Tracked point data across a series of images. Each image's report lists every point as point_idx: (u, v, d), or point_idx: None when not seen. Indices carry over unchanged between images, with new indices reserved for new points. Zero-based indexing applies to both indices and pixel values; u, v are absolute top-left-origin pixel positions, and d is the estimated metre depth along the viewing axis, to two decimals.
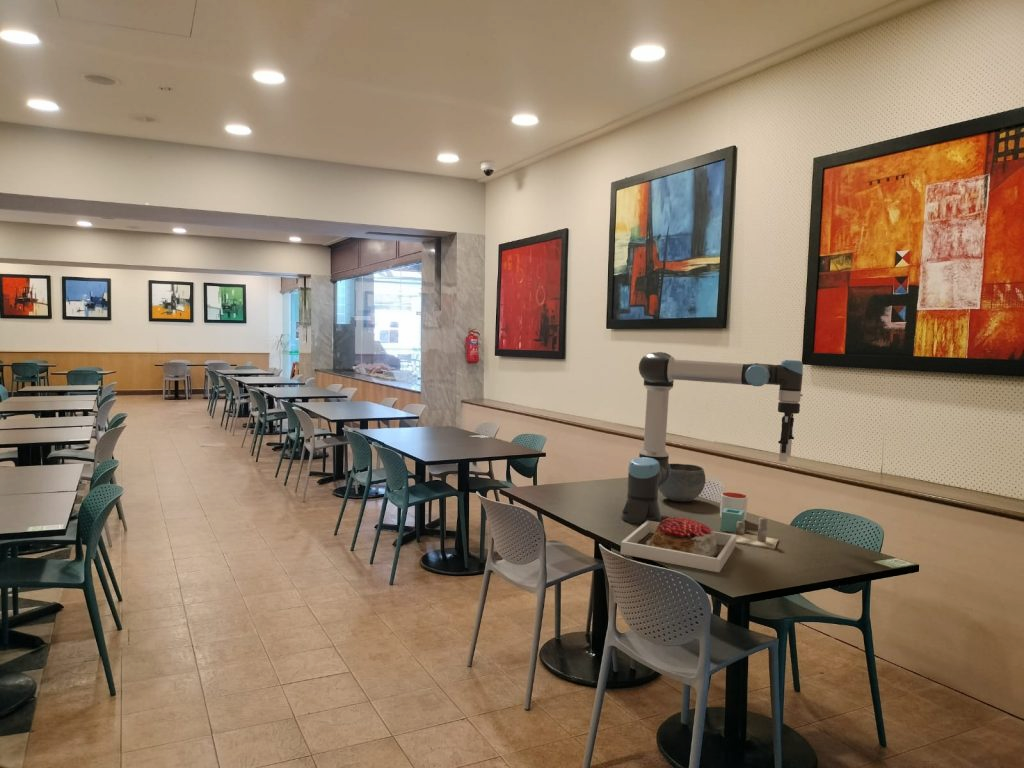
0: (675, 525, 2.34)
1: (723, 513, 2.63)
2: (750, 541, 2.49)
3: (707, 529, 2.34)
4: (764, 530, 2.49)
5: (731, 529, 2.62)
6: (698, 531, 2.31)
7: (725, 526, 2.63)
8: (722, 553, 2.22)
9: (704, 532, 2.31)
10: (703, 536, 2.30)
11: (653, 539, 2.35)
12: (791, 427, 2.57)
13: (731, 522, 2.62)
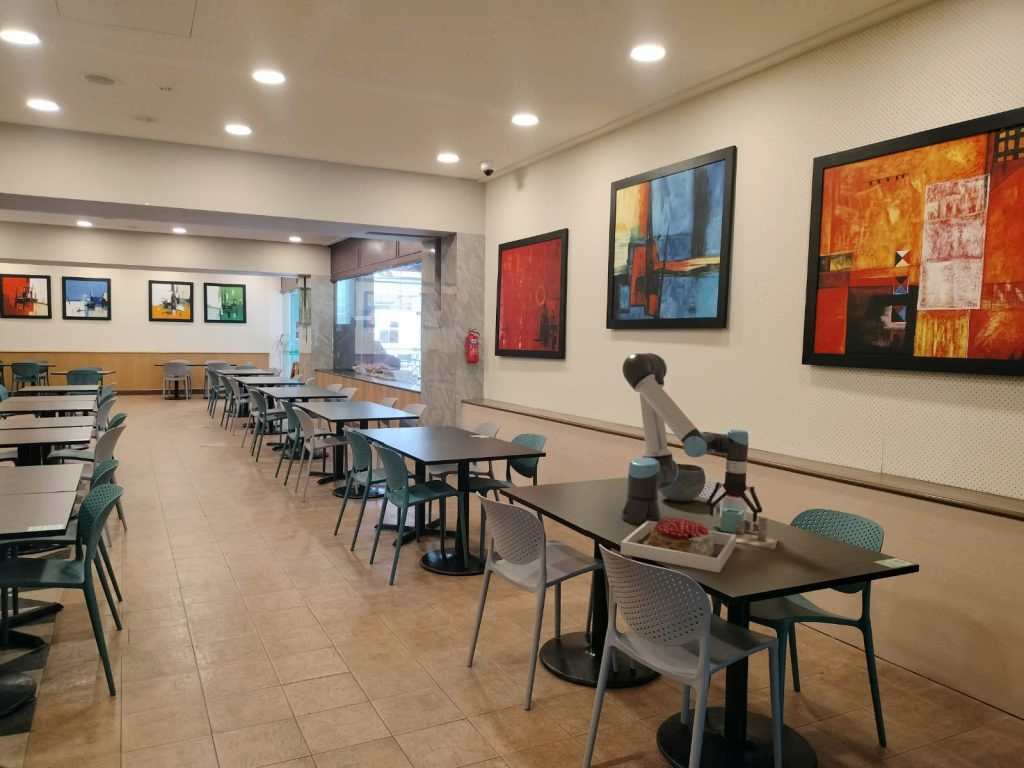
0: (672, 525, 2.33)
1: (723, 513, 2.63)
2: (750, 541, 2.49)
3: (704, 530, 2.33)
4: (764, 530, 2.49)
5: (731, 529, 2.62)
6: (695, 532, 2.30)
7: (725, 526, 2.63)
8: (722, 553, 2.22)
9: (701, 533, 2.31)
10: (701, 536, 2.29)
11: (650, 540, 2.34)
12: (724, 494, 2.64)
13: (731, 522, 2.62)
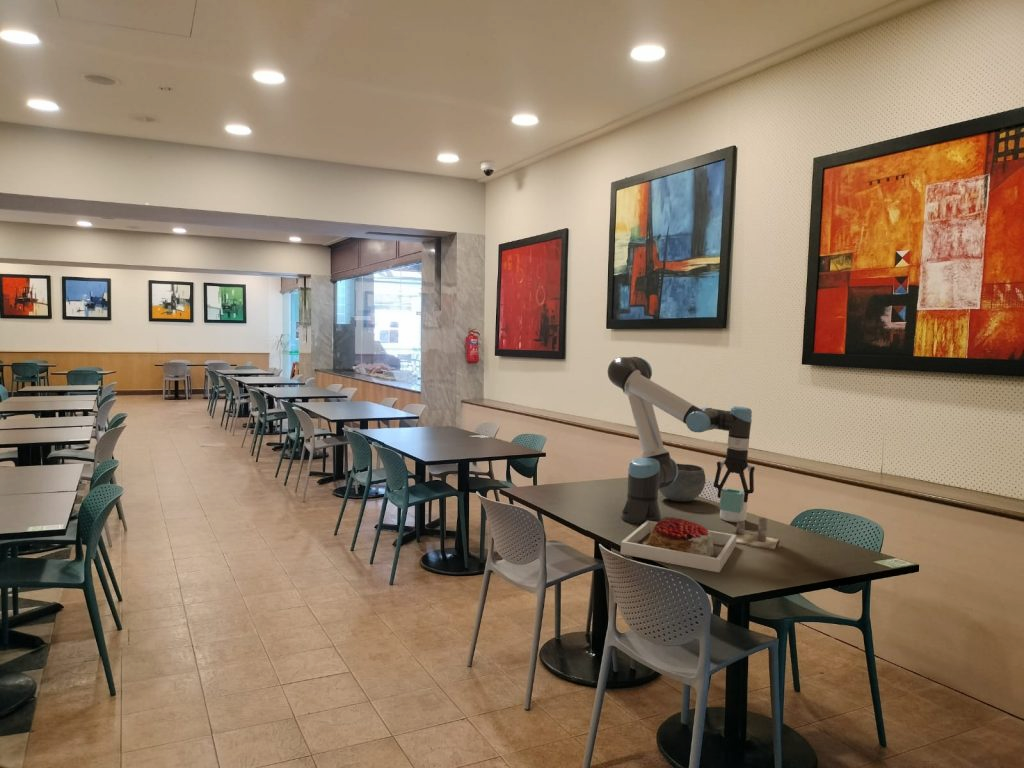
0: (672, 526, 2.32)
1: (723, 492, 2.63)
2: (750, 541, 2.49)
3: (704, 530, 2.32)
4: (764, 530, 2.49)
5: (731, 509, 2.62)
6: (694, 532, 2.29)
7: (725, 505, 2.63)
8: (722, 553, 2.22)
9: (701, 533, 2.30)
10: (700, 537, 2.28)
11: (650, 540, 2.34)
12: (727, 473, 2.63)
13: (731, 502, 2.62)
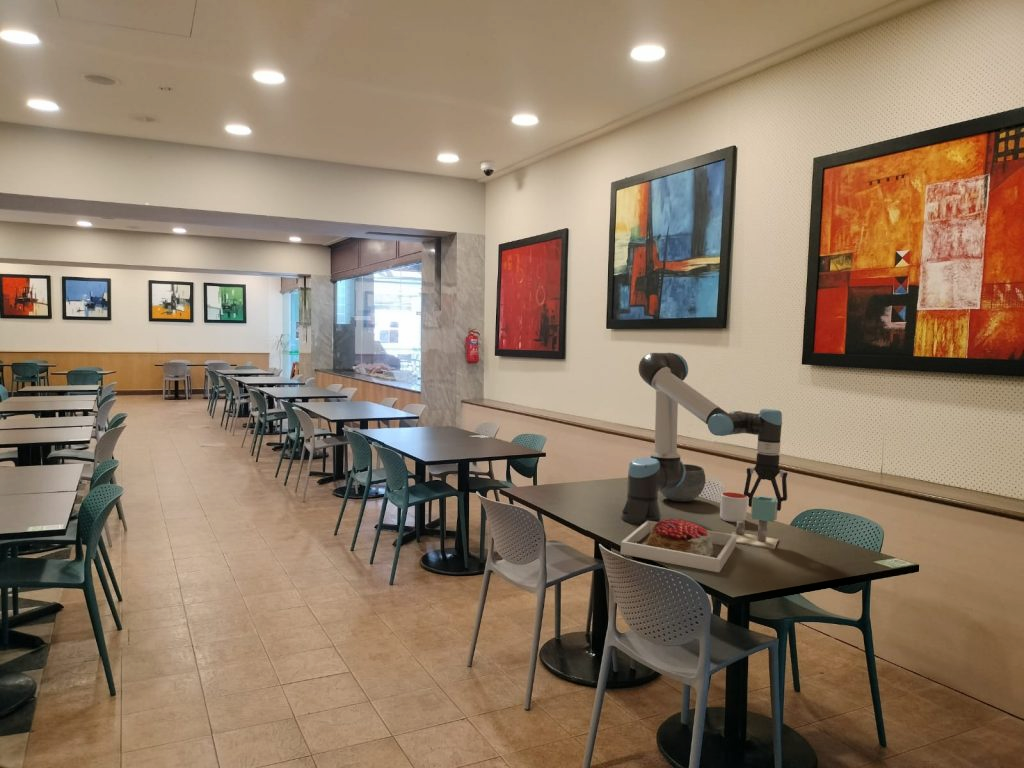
0: (671, 527, 2.32)
1: (755, 501, 2.47)
2: (750, 541, 2.49)
3: (703, 531, 2.32)
4: (764, 530, 2.49)
5: (764, 518, 2.46)
6: (694, 533, 2.28)
7: (757, 514, 2.47)
8: (722, 553, 2.22)
9: (700, 534, 2.29)
10: (700, 537, 2.28)
11: (649, 541, 2.33)
12: (758, 480, 2.48)
13: (763, 510, 2.46)
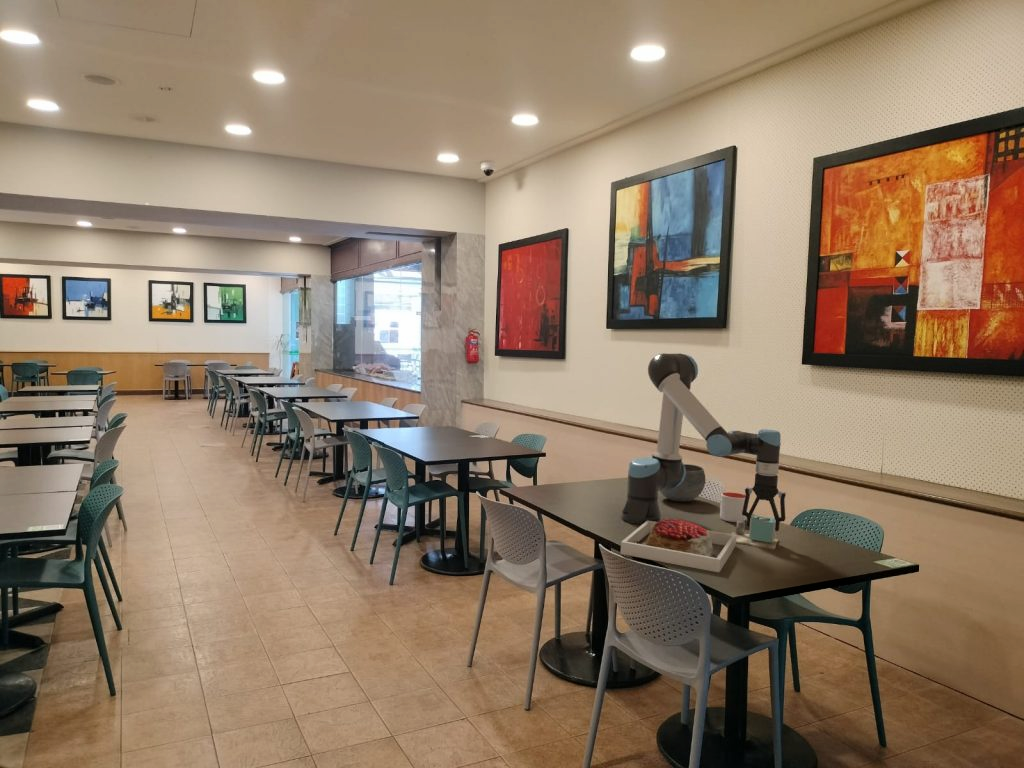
0: (671, 527, 2.31)
1: (753, 521, 2.48)
2: (750, 541, 2.49)
3: (703, 531, 2.31)
4: None
5: (762, 538, 2.47)
6: (694, 533, 2.28)
7: (755, 535, 2.48)
8: (722, 553, 2.22)
9: (700, 534, 2.29)
10: (700, 537, 2.28)
11: (649, 541, 2.33)
12: (756, 500, 2.49)
13: (762, 530, 2.47)
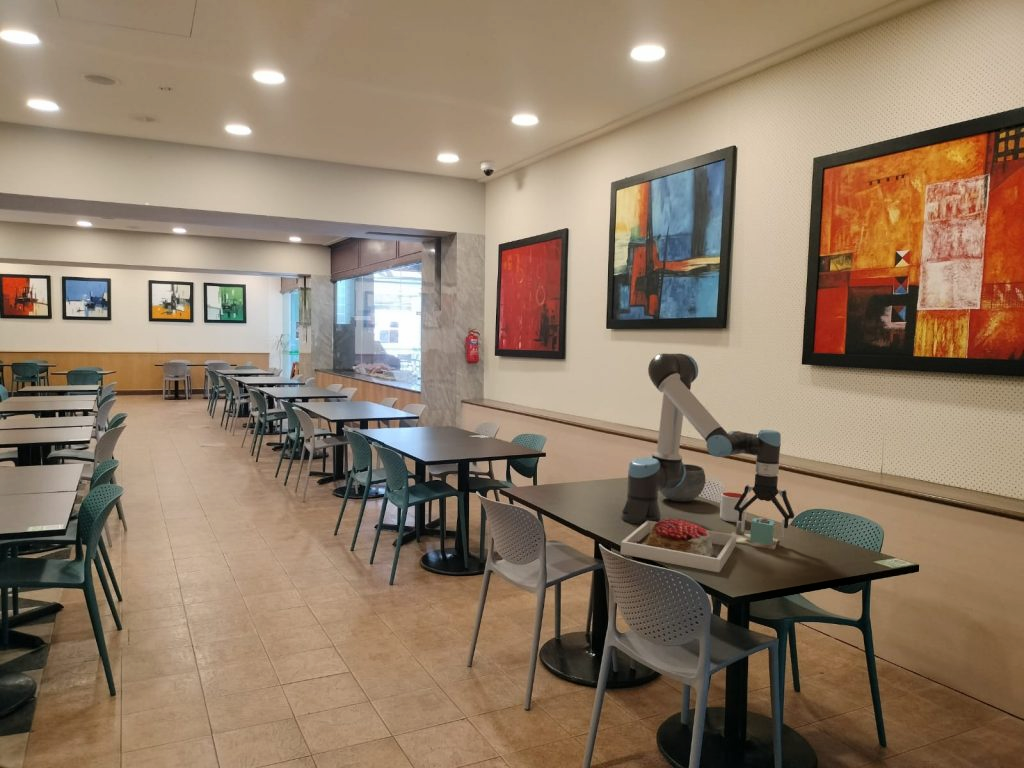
0: (671, 527, 2.31)
1: (753, 523, 2.48)
2: None
3: (703, 531, 2.32)
4: None
5: (761, 540, 2.47)
6: (694, 533, 2.28)
7: (755, 537, 2.48)
8: (722, 553, 2.22)
9: (700, 534, 2.29)
10: (700, 537, 2.28)
11: (649, 541, 2.32)
12: (754, 498, 2.49)
13: (761, 533, 2.47)
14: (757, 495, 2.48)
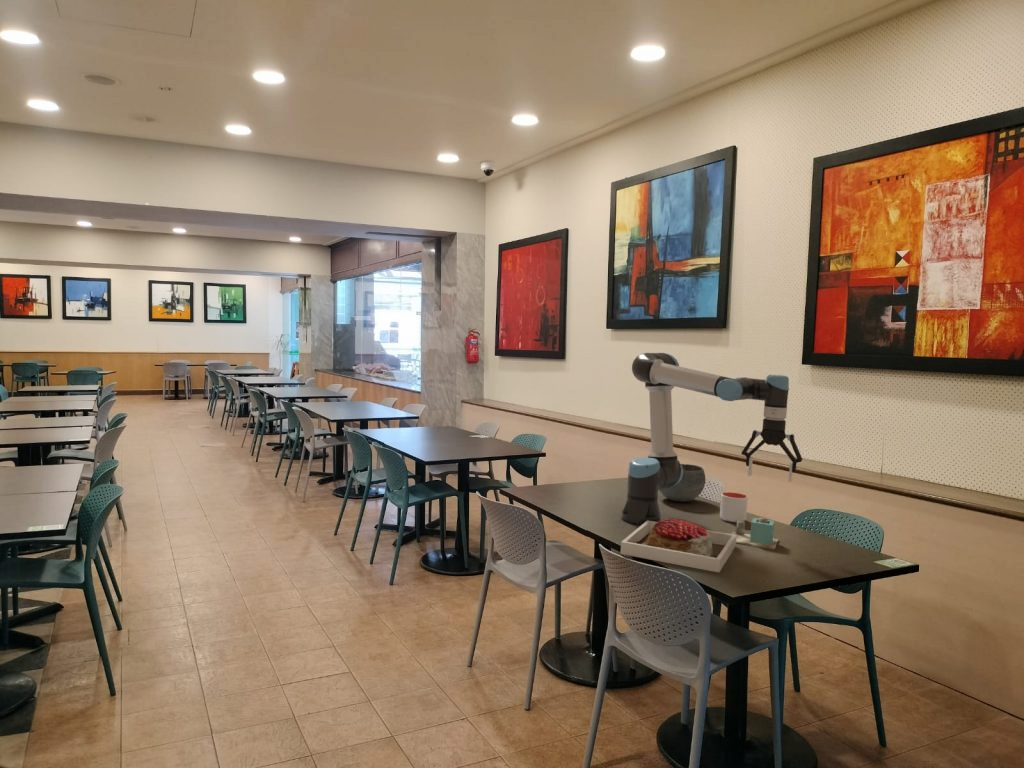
0: (671, 527, 2.31)
1: (753, 523, 2.48)
2: None
3: (703, 531, 2.32)
4: None
5: (761, 540, 2.47)
6: (694, 533, 2.28)
7: (755, 537, 2.48)
8: (722, 553, 2.22)
9: (700, 534, 2.29)
10: (700, 537, 2.28)
11: (649, 541, 2.32)
12: (761, 443, 2.50)
13: (761, 533, 2.47)
14: (765, 439, 2.49)
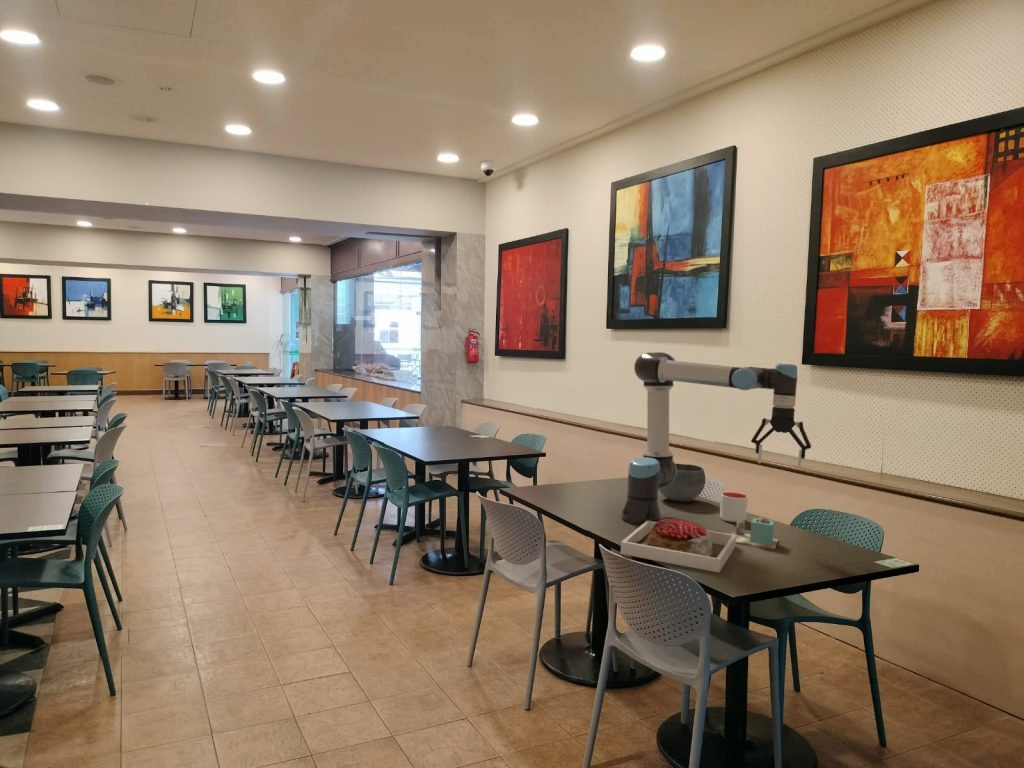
0: (671, 527, 2.31)
1: (753, 523, 2.48)
2: None
3: (703, 531, 2.32)
4: None
5: (761, 540, 2.47)
6: (694, 533, 2.28)
7: (755, 537, 2.48)
8: (722, 553, 2.22)
9: (700, 534, 2.29)
10: (700, 537, 2.28)
11: (649, 542, 2.32)
12: (771, 430, 2.55)
13: (761, 533, 2.47)
14: (774, 427, 2.54)
